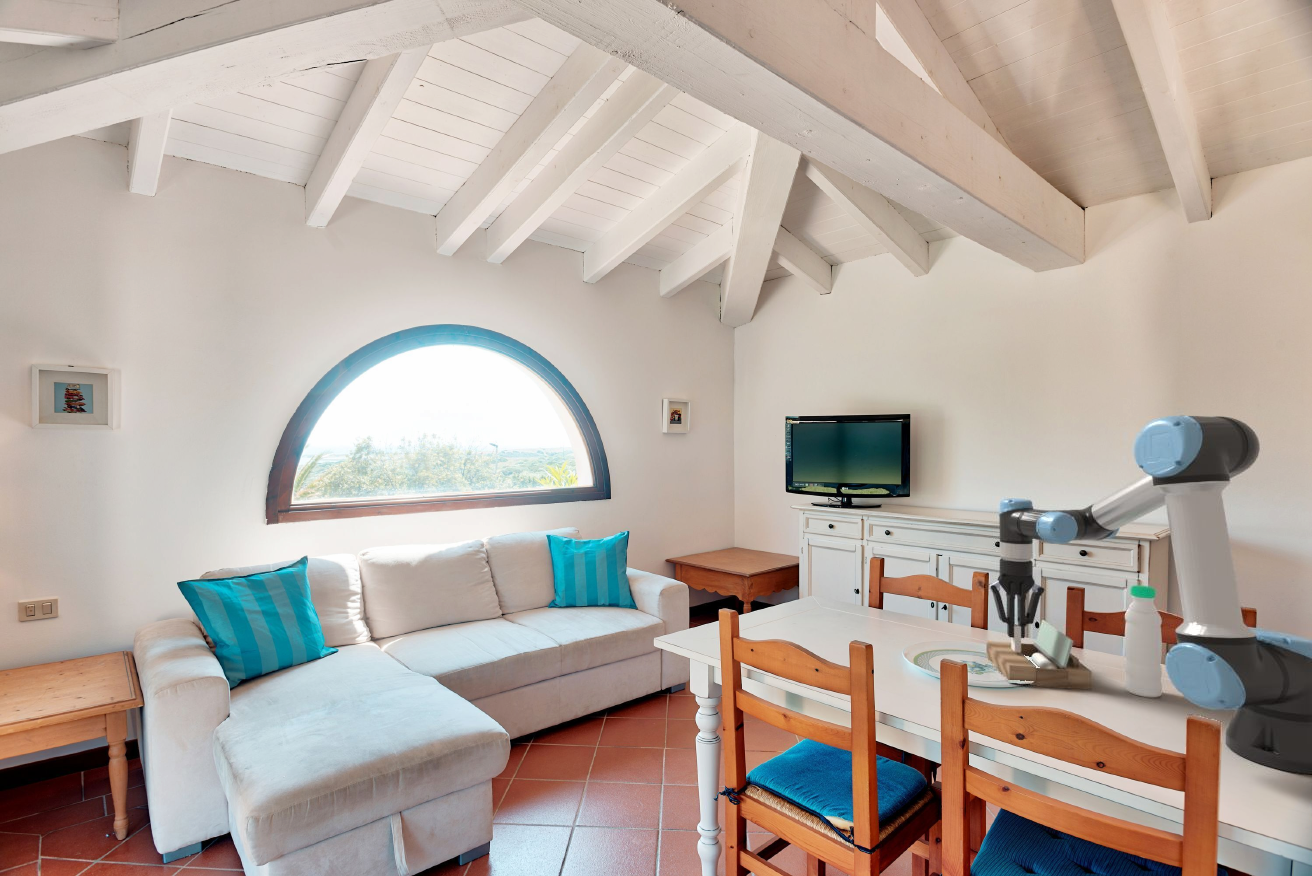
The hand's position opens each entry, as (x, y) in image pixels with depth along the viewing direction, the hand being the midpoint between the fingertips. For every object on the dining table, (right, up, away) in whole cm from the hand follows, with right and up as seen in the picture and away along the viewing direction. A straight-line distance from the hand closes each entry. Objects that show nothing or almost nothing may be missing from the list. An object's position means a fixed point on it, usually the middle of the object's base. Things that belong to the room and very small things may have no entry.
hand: (1016, 650), depth 171 cm
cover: (+8, +2, -2) cm, 8 cm away
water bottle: (+22, -6, -15) cm, 27 cm away
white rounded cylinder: (+7, -3, -1) cm, 8 cm away
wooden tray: (+4, -5, -1) cm, 7 cm away
